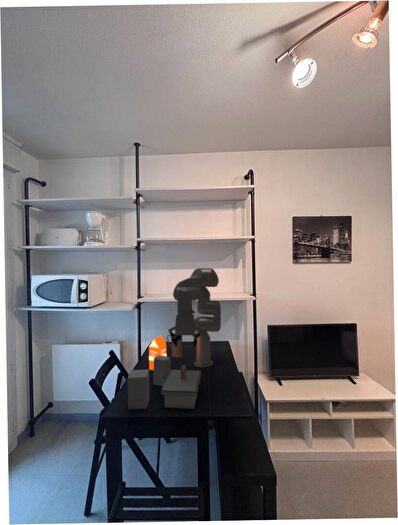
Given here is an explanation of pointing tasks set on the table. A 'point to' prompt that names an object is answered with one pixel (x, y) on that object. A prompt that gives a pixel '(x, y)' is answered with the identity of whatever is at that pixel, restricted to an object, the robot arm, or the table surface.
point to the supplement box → (138, 389)
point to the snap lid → (182, 382)
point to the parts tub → (180, 401)
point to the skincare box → (161, 369)
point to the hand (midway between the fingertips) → (185, 346)
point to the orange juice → (156, 350)
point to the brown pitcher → (178, 349)
